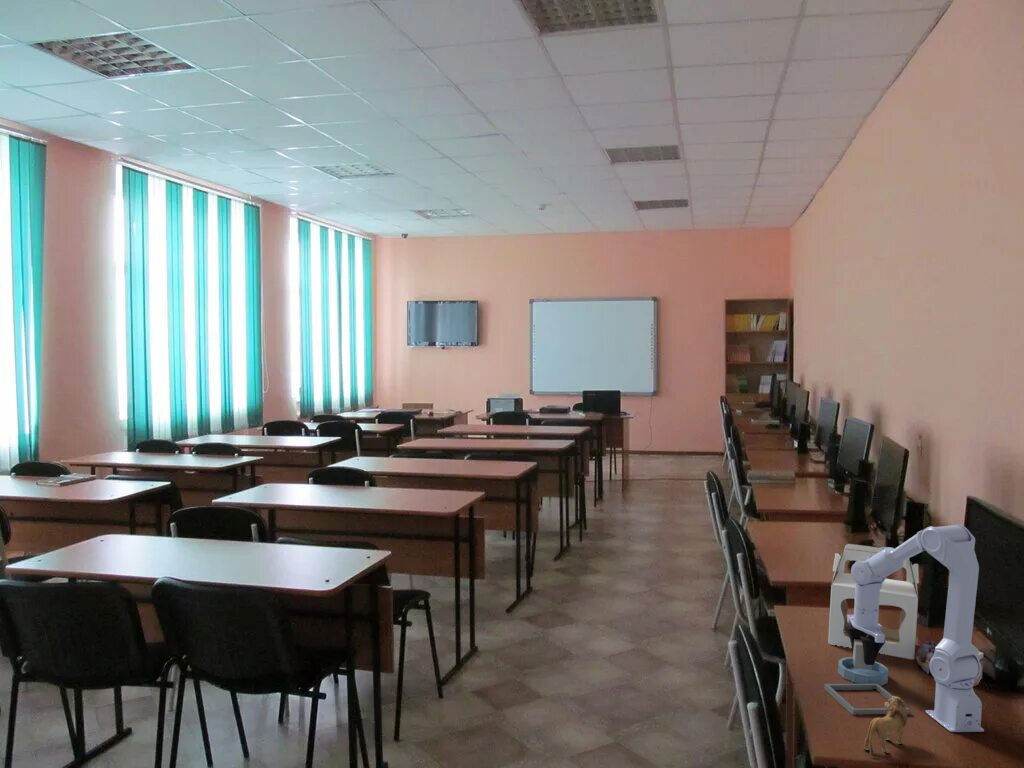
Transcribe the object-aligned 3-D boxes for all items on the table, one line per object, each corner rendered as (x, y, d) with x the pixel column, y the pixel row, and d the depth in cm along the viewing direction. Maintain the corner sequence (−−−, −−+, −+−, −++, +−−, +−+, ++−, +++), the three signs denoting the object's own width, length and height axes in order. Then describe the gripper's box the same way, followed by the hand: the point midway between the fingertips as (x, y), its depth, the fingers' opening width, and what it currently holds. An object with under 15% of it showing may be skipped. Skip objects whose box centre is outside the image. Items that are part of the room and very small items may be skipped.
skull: (947, 681, 201) (948, 657, 201) (913, 674, 205) (914, 651, 205) (947, 665, 212) (948, 642, 211) (915, 658, 215) (916, 636, 215)
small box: (973, 687, 198) (975, 656, 197) (955, 681, 201) (957, 650, 201) (982, 682, 201) (984, 652, 200) (964, 676, 204) (966, 646, 204)
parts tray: (909, 714, 182) (909, 709, 182) (852, 715, 181) (852, 709, 181) (877, 688, 196) (877, 683, 195) (824, 688, 194) (824, 683, 194)
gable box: (827, 644, 224) (832, 546, 222) (830, 629, 236) (835, 536, 234) (915, 660, 214) (921, 558, 212) (914, 644, 226) (920, 547, 224)
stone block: (871, 670, 200) (873, 646, 200) (854, 667, 201) (855, 644, 201) (869, 664, 204) (870, 641, 204) (852, 661, 205) (853, 639, 205)
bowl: (897, 685, 197) (897, 675, 197) (852, 685, 196) (853, 676, 196) (872, 666, 209) (872, 657, 209) (829, 666, 208) (830, 657, 208)
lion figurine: (885, 730, 174) (887, 690, 174) (910, 739, 171) (913, 698, 170) (858, 753, 164) (860, 711, 163) (885, 763, 160) (887, 720, 160)
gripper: (897, 617, 195) (894, 671, 196) (866, 598, 209) (863, 648, 210) (870, 617, 194) (867, 671, 195) (840, 598, 209) (838, 648, 209)
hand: (863, 659), depth 202 cm, fingers closed on stone block, 5 cm apart
